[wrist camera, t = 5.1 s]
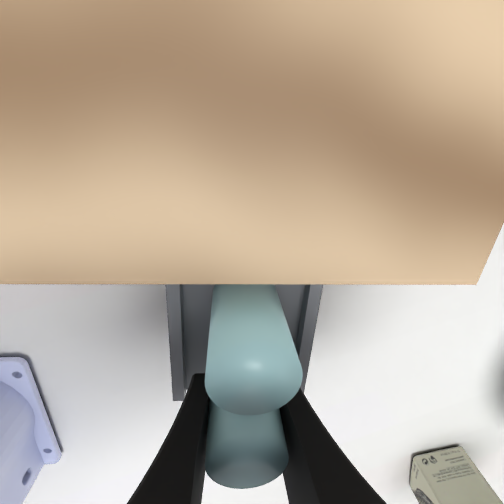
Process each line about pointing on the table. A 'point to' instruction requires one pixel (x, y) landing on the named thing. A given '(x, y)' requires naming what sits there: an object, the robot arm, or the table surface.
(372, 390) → the table surface
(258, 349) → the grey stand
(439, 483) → the box
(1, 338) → the table surface
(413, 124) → the small wooden stool
